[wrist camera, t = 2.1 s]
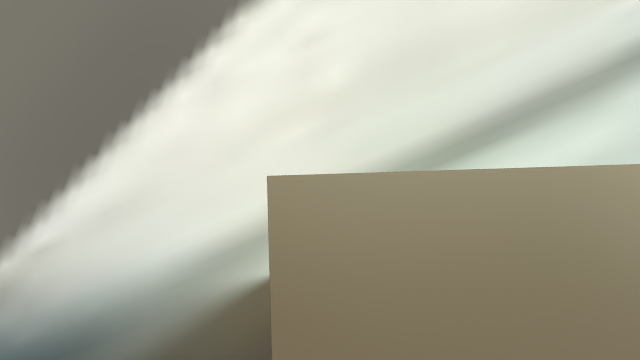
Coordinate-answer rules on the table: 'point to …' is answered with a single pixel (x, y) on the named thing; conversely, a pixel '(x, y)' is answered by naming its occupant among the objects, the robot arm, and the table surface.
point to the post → (456, 264)
